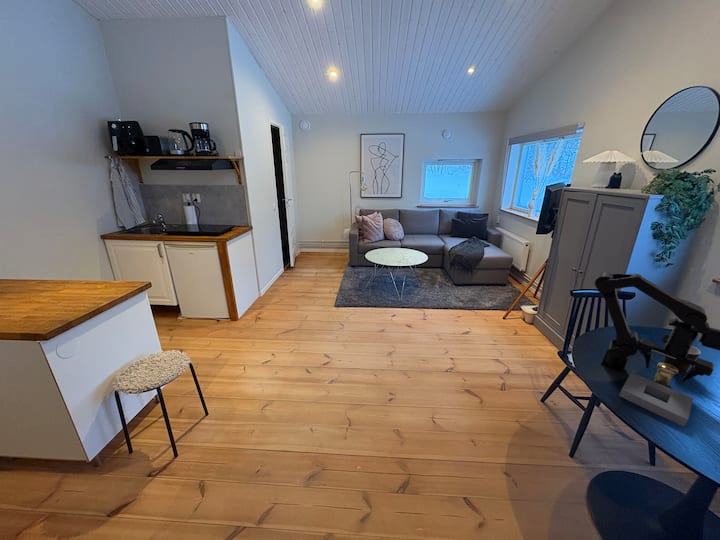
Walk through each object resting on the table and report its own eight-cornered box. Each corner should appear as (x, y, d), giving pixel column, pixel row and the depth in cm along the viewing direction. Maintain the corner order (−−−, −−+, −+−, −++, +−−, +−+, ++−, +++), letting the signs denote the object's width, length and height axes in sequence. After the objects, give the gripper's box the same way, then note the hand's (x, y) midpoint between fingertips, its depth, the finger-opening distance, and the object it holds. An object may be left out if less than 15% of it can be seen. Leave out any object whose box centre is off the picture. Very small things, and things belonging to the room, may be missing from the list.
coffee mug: (673, 361, 120) (683, 340, 116) (696, 375, 112) (707, 354, 108) (646, 361, 120) (655, 341, 116) (667, 376, 112) (677, 354, 108)
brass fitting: (649, 381, 109) (656, 366, 106) (652, 375, 112) (659, 360, 109) (669, 390, 105) (677, 374, 102) (671, 383, 108) (679, 368, 106)
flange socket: (618, 395, 102) (621, 389, 101) (628, 378, 110) (631, 372, 109) (684, 426, 90) (688, 419, 89) (689, 404, 99) (693, 398, 97)
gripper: (723, 343, 99) (703, 379, 105) (650, 320, 113) (635, 353, 119) (721, 356, 93) (700, 393, 99) (644, 330, 107) (629, 364, 112)
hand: (663, 374), depth 107 cm, fingers open, 9 cm apart
